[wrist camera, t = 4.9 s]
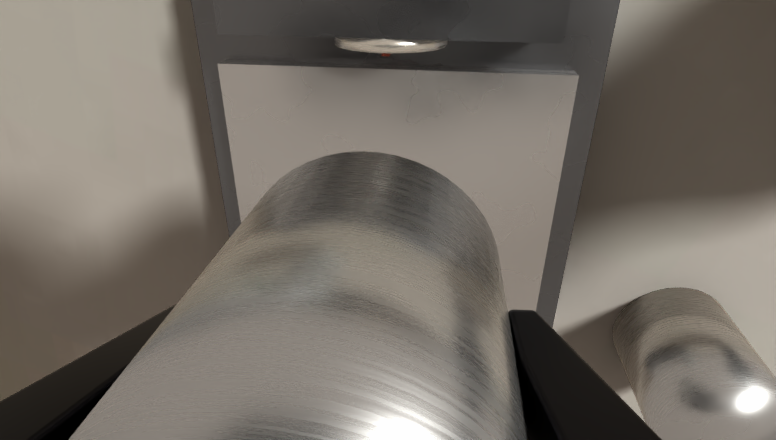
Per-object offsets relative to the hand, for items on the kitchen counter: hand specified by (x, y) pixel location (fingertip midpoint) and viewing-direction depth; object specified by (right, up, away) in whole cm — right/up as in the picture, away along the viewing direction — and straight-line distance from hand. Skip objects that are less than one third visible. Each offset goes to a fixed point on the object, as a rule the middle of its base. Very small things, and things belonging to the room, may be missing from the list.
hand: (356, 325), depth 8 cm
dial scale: (+1, +4, +13) cm, 14 cm away
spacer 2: (+14, -4, +15) cm, 21 cm away
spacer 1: (0, +1, +1) cm, 2 cm away
